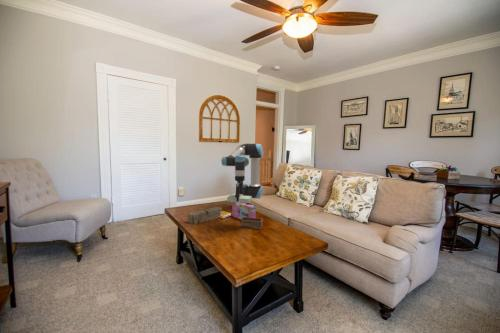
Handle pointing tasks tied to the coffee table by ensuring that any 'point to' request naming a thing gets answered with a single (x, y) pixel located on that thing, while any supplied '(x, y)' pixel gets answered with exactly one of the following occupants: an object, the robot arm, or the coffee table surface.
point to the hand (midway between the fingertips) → (239, 203)
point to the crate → (252, 223)
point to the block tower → (204, 215)
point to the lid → (242, 199)
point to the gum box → (243, 210)
